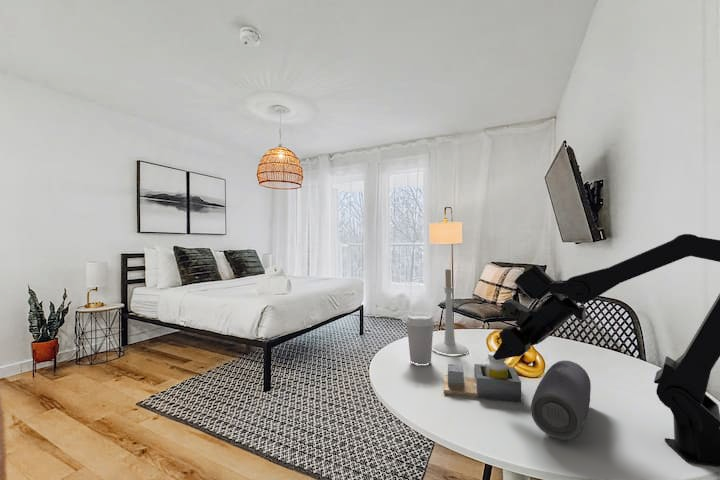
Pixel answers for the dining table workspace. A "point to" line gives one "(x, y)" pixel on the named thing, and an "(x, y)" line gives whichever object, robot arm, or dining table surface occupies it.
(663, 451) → the dining table surface
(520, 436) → the dining table surface
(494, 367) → the supplement bottle
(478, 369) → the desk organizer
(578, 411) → the bluetooth speaker
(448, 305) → the candlestick
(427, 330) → the coffee cup
